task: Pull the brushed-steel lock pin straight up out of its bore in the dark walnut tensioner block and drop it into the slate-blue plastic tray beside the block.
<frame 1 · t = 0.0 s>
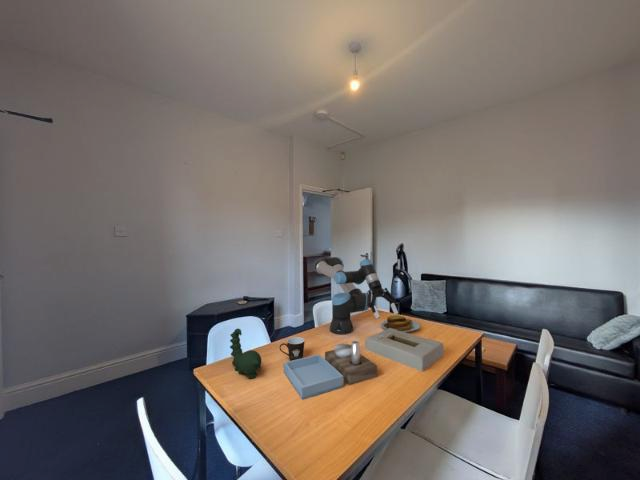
hand: (387, 316, 149), 15 cm above the table, tool tilted 35°, fingers open, 13 cm apart
toy figurine: (245, 372, 118), on the table
coffee mug: (293, 360, 129), on the table
tray: (311, 379, 112), on the table
lock pin: (355, 374, 115), resting in tensioner block
slotted block: (403, 354, 136), on the table
tensioner block: (349, 369, 120), on the table
food on plate: (400, 328, 173), on the table
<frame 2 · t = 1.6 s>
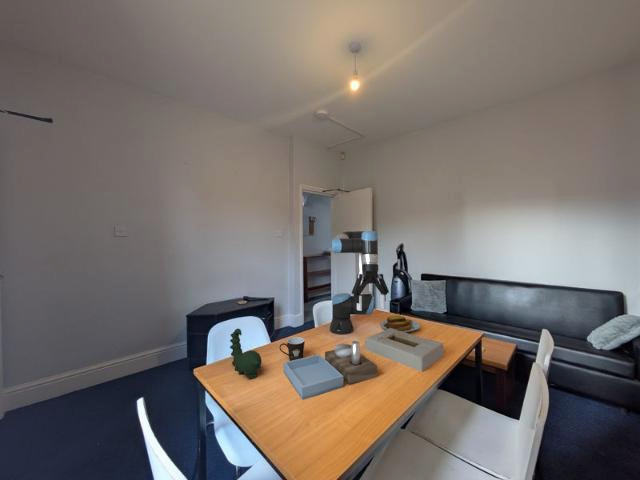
hand: (371, 309, 122), 27 cm above the table, tool pointing down, fingers open, 13 cm apart
nothing on the table moved.
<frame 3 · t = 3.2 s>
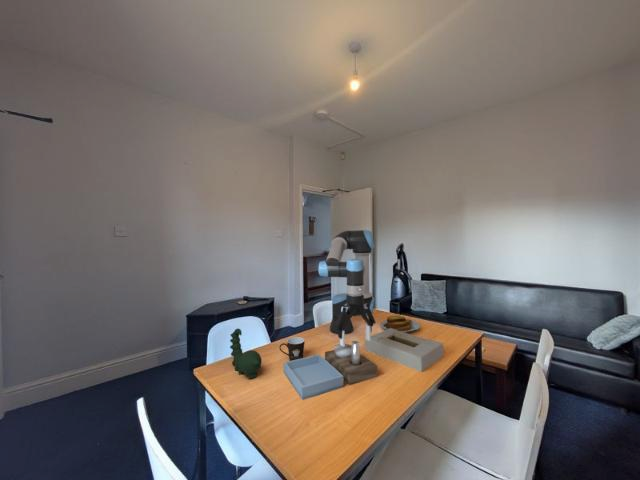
hand: (355, 342, 115), 14 cm above the table, tool pointing down, fingers open, 13 cm apart
nothing on the table moved.
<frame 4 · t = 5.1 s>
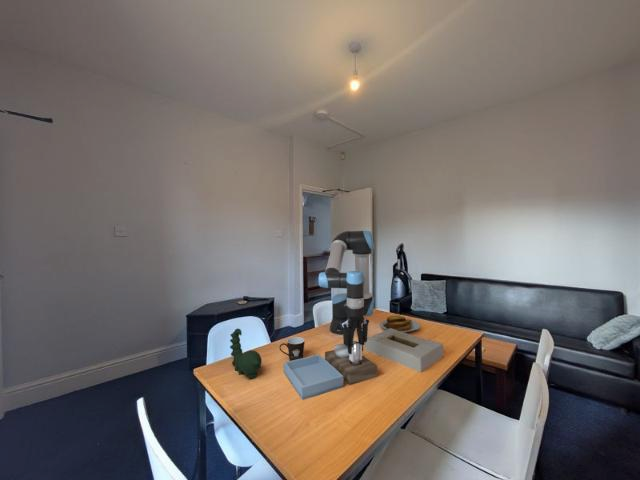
hand: (355, 359, 115), 7 cm above the table, tool pointing down, fingers closed on lock pin, 3 cm apart
lock pin: (355, 374, 115), resting in tensioner block, touching gripper
everything else where it was.
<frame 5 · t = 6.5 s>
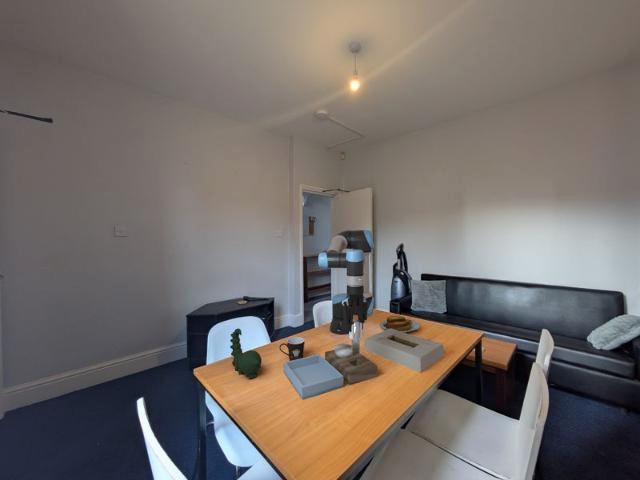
hand: (355, 337, 115), 16 cm above the table, tool pointing down, fingers closed on lock pin, 3 cm apart
lock pin: (355, 352, 116), point 10 cm above the table, touching gripper
everything else where it was.
when the fingers open (10 cm above the table, at t = 12.3 s): lock pin drops 3 cm, resting on tray.
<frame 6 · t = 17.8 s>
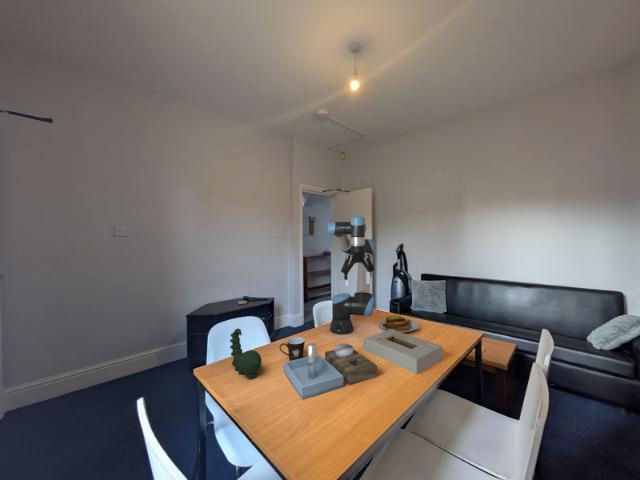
hand: (358, 284, 141), 35 cm above the table, tool pointing down, fingers open, 13 cm apart
lock pin: (311, 377, 111), point 1 cm above the table, touching tray
slotted block: (401, 355, 134), on the table
everything else where it was.
at the end: lock pin inside the target area on the tray (0.0 cm from its centre), point 1.0 cm above the tray's base; the gripper is holding nothing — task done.
